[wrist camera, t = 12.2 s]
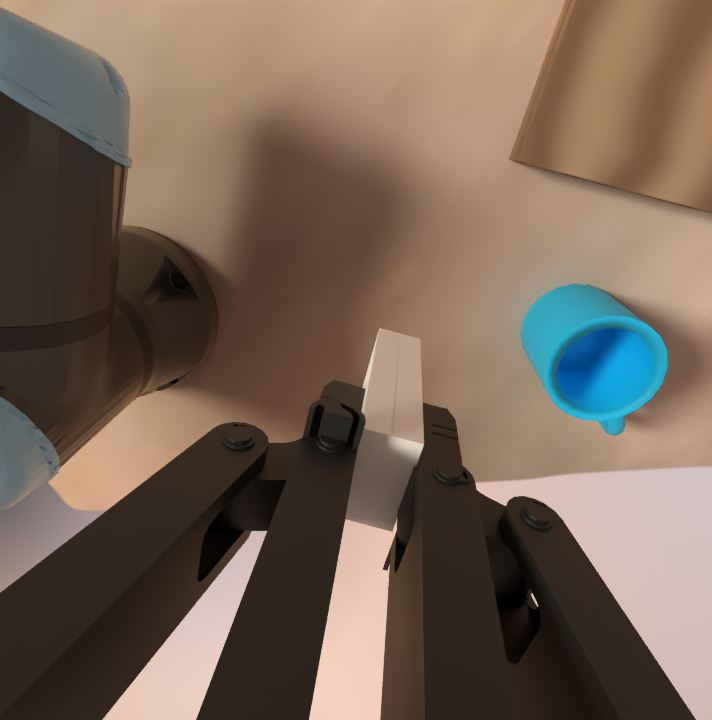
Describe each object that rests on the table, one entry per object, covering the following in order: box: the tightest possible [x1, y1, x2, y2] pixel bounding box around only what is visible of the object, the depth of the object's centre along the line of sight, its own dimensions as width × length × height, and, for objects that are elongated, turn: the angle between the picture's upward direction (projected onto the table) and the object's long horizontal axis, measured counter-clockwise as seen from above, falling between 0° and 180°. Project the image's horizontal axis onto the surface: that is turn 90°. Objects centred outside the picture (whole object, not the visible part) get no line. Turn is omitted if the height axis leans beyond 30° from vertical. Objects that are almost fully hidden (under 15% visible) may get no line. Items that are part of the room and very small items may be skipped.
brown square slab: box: [509, 0, 712, 212], centre depth 31 cm, size 14×14×4 cm
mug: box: [521, 284, 668, 435], centre depth 38 cm, size 12×8×8 cm
